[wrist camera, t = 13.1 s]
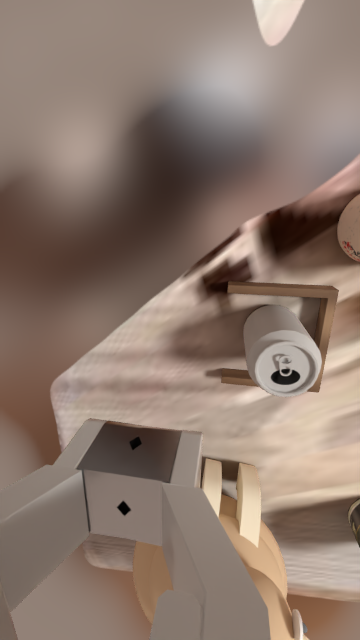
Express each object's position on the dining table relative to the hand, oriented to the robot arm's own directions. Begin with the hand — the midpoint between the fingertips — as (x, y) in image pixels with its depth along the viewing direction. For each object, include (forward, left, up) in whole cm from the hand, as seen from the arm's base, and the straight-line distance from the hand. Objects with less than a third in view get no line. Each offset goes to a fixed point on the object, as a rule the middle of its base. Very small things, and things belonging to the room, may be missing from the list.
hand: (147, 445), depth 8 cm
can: (+8, +8, -33) cm, 35 cm away
